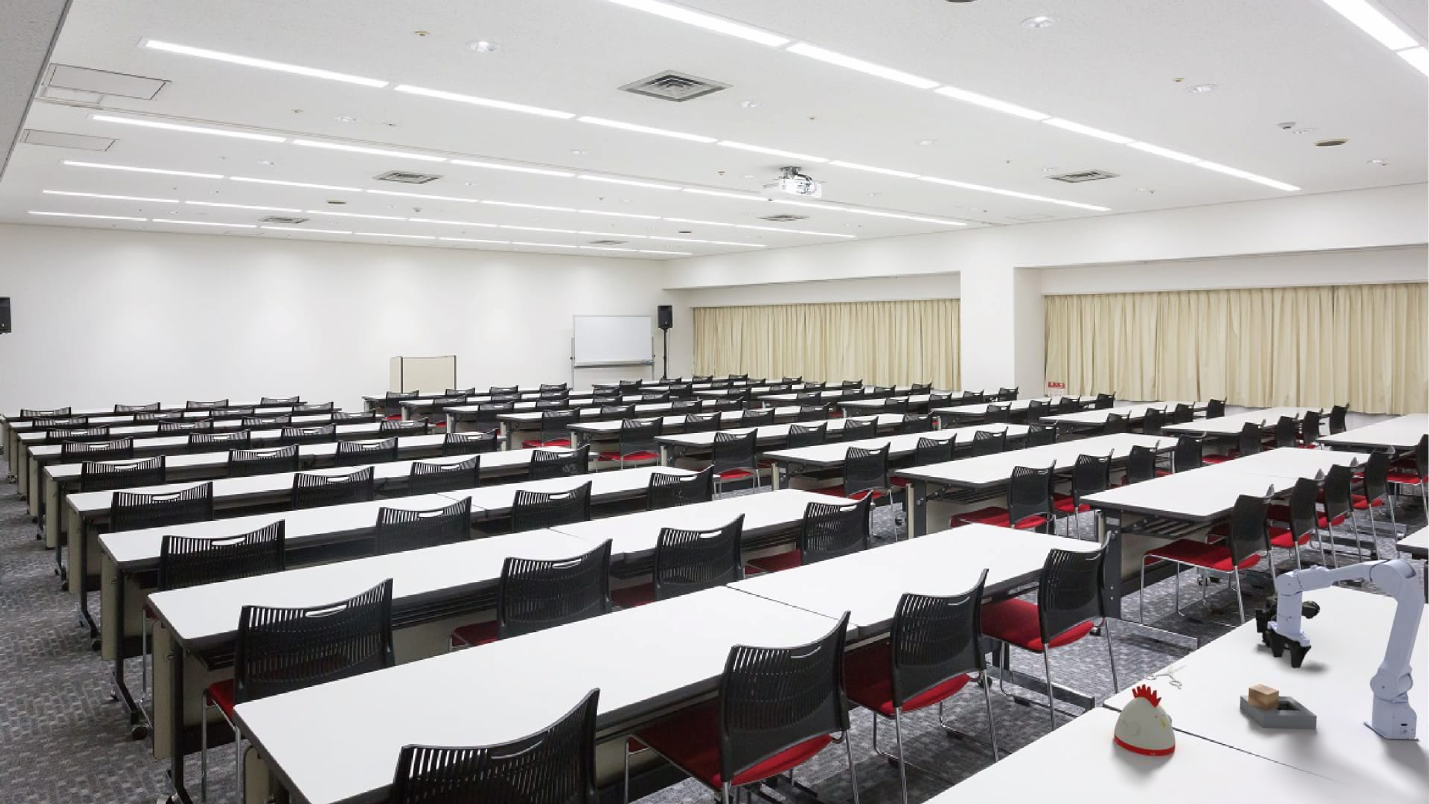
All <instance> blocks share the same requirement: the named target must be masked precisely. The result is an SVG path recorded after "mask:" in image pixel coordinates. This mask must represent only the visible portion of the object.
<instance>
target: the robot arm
mask: <svg viewBox="0 0 1429 804" xmlns="http://www.w3.org/2000/svg"><path fill="white" fill-rule="evenodd" d="M1360 578H1362V579H1364V580H1365V581H1367V582H1369V583H1371V582H1373V583H1374V584H1375V585H1376V586H1377V587H1378V588H1380V589H1382V590H1383V591H1384V592H1386V593H1387V594H1389V596H1391V597H1392V598H1393V599H1394V600H1395V601H1396V602H1397V606H1396V608H1395V609H1396V610H1395V614H1394V618H1393V621H1392V626H1391V630H1390V634H1389V638H1388V642H1387V646H1386V651H1385V653H1384V657H1383V660H1382V662H1381V663H1380V665H1379V667H1378V668H1377V671H1376V673H1375V674H1374V675H1373V676H1372V677H1371V679H1370V681H1369V686H1370V689H1371V691H1372V692H1373V695H1372V710H1371V711H1372V713H1371V720H1363V721H1362V722H1363V724H1365V725H1366V726H1367V727H1369V728H1370V729H1372V730H1373V731H1374V732H1376V733H1377V734H1379V735H1381V736H1382V737H1384V738H1385V739H1387V740H1408V739H1407V738H1415V737H1416V736H1417V734H1416V733H1417V723H1418V722H1417V719H1418V718H1417V717H1418V715H1417V713H1416V711H1415V710H1414V709H1413V708H1412V707H1411V705H1410V703H1409V695H1408V691H1410V690H1411V689H1412V688H1413V686H1414V680H1413V677H1412V672H1413V667H1412V666H1411V664H1410V662H1411V659H1412V655H1413V651H1414V648H1415V643H1416V640H1417V635H1418V632H1419V631H1418V630H1419V628H1420V624H1421V620H1422V619H1421V618H1422V616H1423V612H1424V608H1425V604H1426V597H1425V594H1424V591H1423V589H1422V586H1421V583H1420V580H1419V572H1418V571H1417V570H1416V568H1415V567H1414V566H1413V565H1412V564H1411V563H1410V562H1408V561H1407V560H1406V559H1402V558H1393V559H1390V560H1389V561H1388V559H1379V560H1369V561H1364V562H1360V563H1355V564H1351V565H1346V566H1341V567H1338V568H1333V569H1328V568H1327V567H1325V566H1318V564H1314V565H1310V566H1309V568H1306V569H1300V570H1299V568H1298V569H1297V568H1296V569H1293V570H1292V571H1288V572H1285V573H1282V574H1279V575H1278V576H1277V577H1275V579H1274V586H1275V589H1276V590H1277V592H1278V604H1277V623H1276V622H1268V629H1270V631H1266V632H1265V634H1266V636H1267V637H1268V640H1269V643H1270V645H1271V646H1270V648H1271V652H1272V657H1273V658H1275V659H1277V658H1282V657H1283V654H1284V650H1285V649H1284V645H1285V644H1284V643H1285V640H1286V638H1287V637H1288V638H1290V639H1292V640H1294V641H1295V643H1294V642H1292V643H1286V644H1287V645H1286V646H1287V647H1289V650H1290V651H1289V650H1288V651H1289V655H1290V666H1291V668H1293V669H1300V668H1302V664H1303V662H1304V659H1305V657H1306V655H1307V654H1308V652H1309V651H1310V650H1311V649H1312V645H1311V644H1310V643H1311V639H1309V638H1308V637H1307V636H1306V635H1305V634H1304V633H1305V632H1304V629H1302V627H1301V626H1302V616H1301V612H1302V603H1303V592H1310V591H1316V590H1321V589H1327V588H1330V587H1332V585H1333V583H1334V582H1339V581H1345V580H1353V579H1360Z"/></svg>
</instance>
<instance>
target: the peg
mask: <svg viewBox="0 0 1429 804" xmlns="http://www.w3.org/2000/svg"><path fill="white" fill-rule="evenodd" d="M1247 696H1248V704H1251V705H1253V706H1256V707H1258V708H1261V709H1264V710H1266V711H1267V710H1270V709H1273V708H1276V707H1278V701H1279V696H1280V690H1277V689H1275V688H1273V687H1270V686H1267V685H1264V684H1261V683H1260V684H1256V685H1253V686H1250V687H1248V695H1247Z"/></svg>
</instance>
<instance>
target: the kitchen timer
mask: <svg viewBox="0 0 1429 804" xmlns="http://www.w3.org/2000/svg"><path fill="white" fill-rule="evenodd" d="M1131 692H1132V695H1133V699H1131V700H1130V701H1129V702H1127V703H1126V704H1125V705H1124V707H1123V708H1122V710H1121V712H1120V713H1119V715H1118V717H1117V721H1116V722H1115V726H1114V729H1113V730H1114V732H1113V733H1114V734H1113V736H1114V737H1113V739H1114V741H1115V743H1116V744H1117V745H1118V746H1120V747H1122V748H1123V749H1125V750H1128V751H1129V752H1131V753H1135V754H1138V755H1143V756H1149V757H1162V756H1163V757H1164V756H1168V755H1171V754H1172V753H1174V752H1175V750H1176V735H1175V732H1174V729H1173V725H1172V723H1173V720H1172V717H1171V715H1169V714H1168V713H1167V712H1166V711H1165V709H1164V708H1163V707H1162V705H1161V704H1160V702H1161V700H1162V696H1159V697H1158V689H1154V690H1153V691H1152V689H1151V686H1150V685H1148V686H1146V684H1144V683H1143V684H1142V685H1141V686H1140V685H1138V686H1136V688H1134V687H1133V688H1132V689H1131Z"/></svg>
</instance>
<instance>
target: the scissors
mask: <svg viewBox="0 0 1429 804" xmlns="http://www.w3.org/2000/svg"><path fill="white" fill-rule="evenodd" d="M1171 665H1172V662H1170V664H1169V667H1168V669H1167V671H1165V672H1163V673H1157V674H1158V675H1157V674H1145V675H1144V676H1143V678H1144V679H1145V680H1150V679H1149V677H1152V678H1151V679H1153V680H1157V678H1158V676H1159V675H1161V676H1169V677H1170V678H1171V679H1172V680H1171V679H1170V680H1169V683H1170V684H1171V685H1172V686H1176V687H1177V688H1178V689H1179V690H1181V689H1182V687H1181V686H1182V684H1183V683H1182V682H1181V681H1180V680H1177V679H1176V677H1174V676H1173V673H1176V672H1178V671H1179V670H1181V669H1183V668H1184V667H1186V664H1184V666H1183V665H1182V666H1179V667H1178V668H1175V669H1173V665H1172V667H1170V666H1171ZM1170 669H1171V670H1170ZM1154 675H1156V676H1154ZM1159 677H1160V676H1159ZM1154 678H1156V679H1154ZM1153 680H1152V681H1153ZM1174 682H1176V683H1174ZM1177 683H1178V684H1177Z"/></svg>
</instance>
